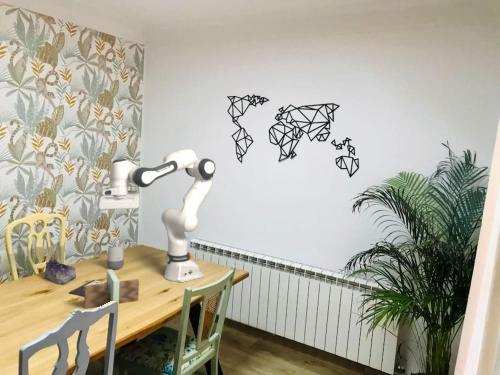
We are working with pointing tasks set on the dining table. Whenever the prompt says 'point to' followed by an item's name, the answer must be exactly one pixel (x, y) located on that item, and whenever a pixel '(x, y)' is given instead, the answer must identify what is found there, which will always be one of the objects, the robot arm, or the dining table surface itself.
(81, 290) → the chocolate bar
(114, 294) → the sage plate
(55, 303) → the dining table surface
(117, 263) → the smart speaker
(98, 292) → the walnut board
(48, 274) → the geode
